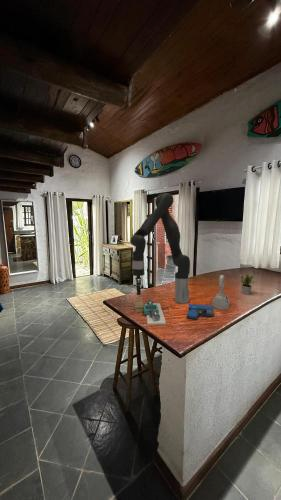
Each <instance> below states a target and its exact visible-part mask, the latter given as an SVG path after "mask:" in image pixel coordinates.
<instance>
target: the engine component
mask: <svg viewBox="0 0 281 500" xmlns="http://www.w3.org/2000/svg"><path fill="white" fill-rule="evenodd" d="M225 279H226V277H225V275H224V274H220V276H219V279H218V281H219V283H218V285H219V293H217V294H215V297H213V300H212V306H213V308H215V309H220V310H227V309H229V308H230V299H229V298H230V297H229V296H228V295H226V294H224V287H225V281H226V280H225Z"/></svg>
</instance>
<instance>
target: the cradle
mask: <svg viewBox="0 0 281 500" xmlns="http://www.w3.org/2000/svg"><path fill="white" fill-rule="evenodd" d="M143 308H144V309H143V315H144V316H146V315H149V310H150V309H153V310H155V311H156V312H157V313H158V314H159V310H158V306H157V305H145V304H143Z"/></svg>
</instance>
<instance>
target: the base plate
mask: <svg viewBox="0 0 281 500" xmlns="http://www.w3.org/2000/svg"><path fill="white" fill-rule="evenodd" d="M144 305H147V303H144ZM153 305H157V306H158V310H159V315H160V320H158V321H153V320H152V317H151V318H150V317H149V315H145V316H146V322H147V326H155V325H156V326H158V325H166V324H167V323H166V319H165V316H164V312H163V310H162V306H161V304H160V302H154V303H153Z"/></svg>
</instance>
